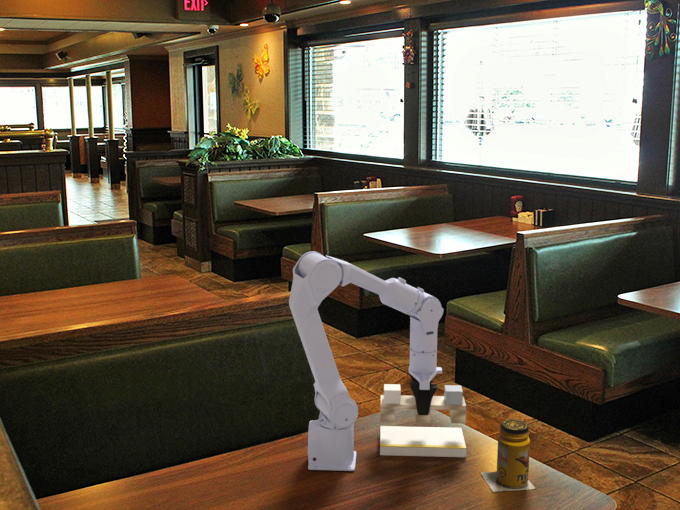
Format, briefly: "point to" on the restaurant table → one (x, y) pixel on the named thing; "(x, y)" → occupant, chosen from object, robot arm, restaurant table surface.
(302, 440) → the restaurant table surface
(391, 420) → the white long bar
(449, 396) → the light grey square block
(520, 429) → the condiment
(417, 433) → the dock
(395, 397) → the block
